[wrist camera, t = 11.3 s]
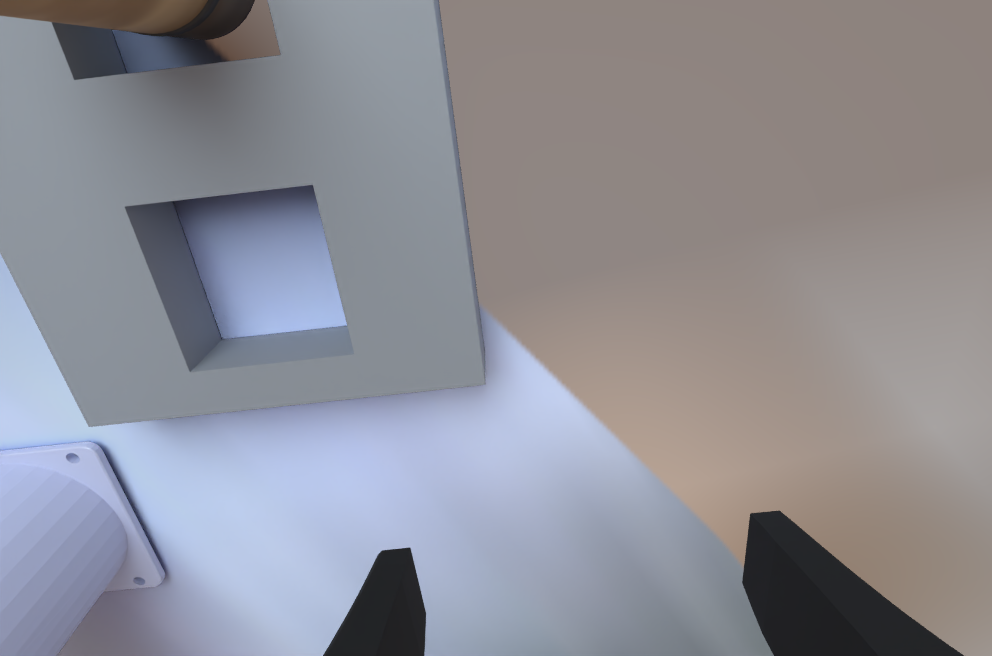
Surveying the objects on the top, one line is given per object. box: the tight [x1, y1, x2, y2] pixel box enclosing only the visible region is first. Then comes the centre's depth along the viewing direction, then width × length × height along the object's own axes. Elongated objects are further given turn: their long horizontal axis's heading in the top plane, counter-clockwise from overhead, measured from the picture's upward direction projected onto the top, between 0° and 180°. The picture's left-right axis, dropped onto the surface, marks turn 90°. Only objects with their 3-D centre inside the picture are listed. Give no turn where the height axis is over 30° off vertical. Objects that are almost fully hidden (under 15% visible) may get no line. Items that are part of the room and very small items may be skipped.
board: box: [0, 0, 485, 427], centre depth 16 cm, size 14×18×2 cm
